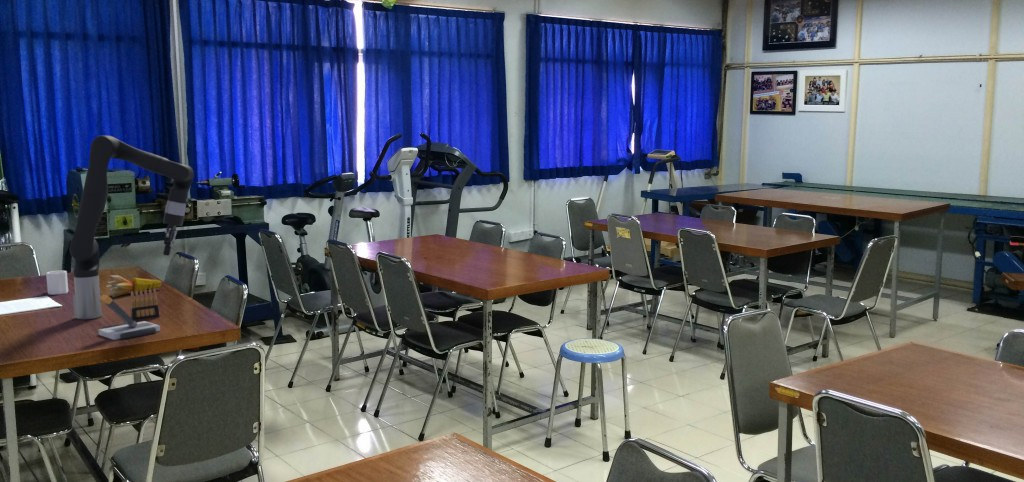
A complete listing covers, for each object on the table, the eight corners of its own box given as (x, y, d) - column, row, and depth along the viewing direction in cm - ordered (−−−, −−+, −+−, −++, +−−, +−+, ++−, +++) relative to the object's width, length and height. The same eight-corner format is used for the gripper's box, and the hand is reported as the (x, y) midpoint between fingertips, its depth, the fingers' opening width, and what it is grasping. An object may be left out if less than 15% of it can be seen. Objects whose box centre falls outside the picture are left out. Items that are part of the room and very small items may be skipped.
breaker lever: (133, 322, 341) (103, 294, 332) (138, 323, 339) (108, 295, 329) (129, 326, 340) (99, 298, 331) (134, 328, 338) (104, 300, 328)
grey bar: (134, 326, 349) (134, 320, 348) (137, 327, 347) (136, 321, 347) (100, 332, 339) (100, 327, 339) (103, 333, 337) (103, 327, 337)
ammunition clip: (132, 320, 358) (130, 291, 357) (130, 319, 360) (128, 290, 358) (159, 316, 365) (157, 288, 363) (158, 316, 366) (156, 287, 365)
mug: (69, 293, 415) (68, 272, 413) (49, 295, 410) (47, 274, 408) (65, 289, 424) (64, 268, 423) (45, 291, 420) (43, 270, 418)
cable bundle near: (153, 332, 339) (152, 326, 339) (156, 333, 337) (155, 327, 337) (119, 339, 329) (118, 333, 329) (122, 340, 328) (121, 334, 327)
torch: (161, 297, 421) (107, 299, 403) (155, 287, 426) (101, 288, 408) (165, 283, 418) (111, 284, 400) (159, 273, 423) (105, 274, 405)
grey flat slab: (144, 326, 349) (144, 320, 349) (160, 330, 341) (159, 325, 341) (98, 334, 336) (98, 329, 335) (113, 339, 328) (113, 334, 328)
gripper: (181, 215, 354) (172, 258, 355) (187, 214, 367) (178, 255, 368) (161, 211, 353) (153, 254, 353) (168, 210, 366) (160, 252, 366)
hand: (166, 255), depth 360 cm, fingers closed
